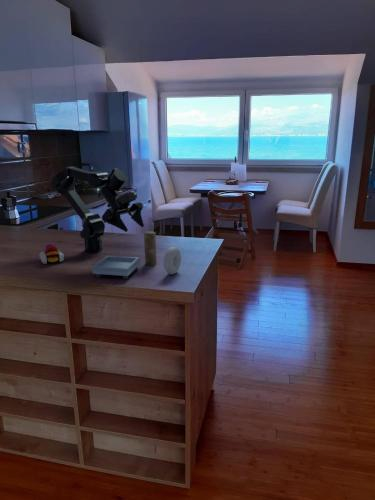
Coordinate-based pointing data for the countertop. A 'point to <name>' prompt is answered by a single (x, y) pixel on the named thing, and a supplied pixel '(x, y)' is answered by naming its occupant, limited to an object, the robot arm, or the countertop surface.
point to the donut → (172, 260)
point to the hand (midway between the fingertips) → (135, 228)
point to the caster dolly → (116, 266)
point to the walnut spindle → (150, 248)
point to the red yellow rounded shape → (51, 254)
